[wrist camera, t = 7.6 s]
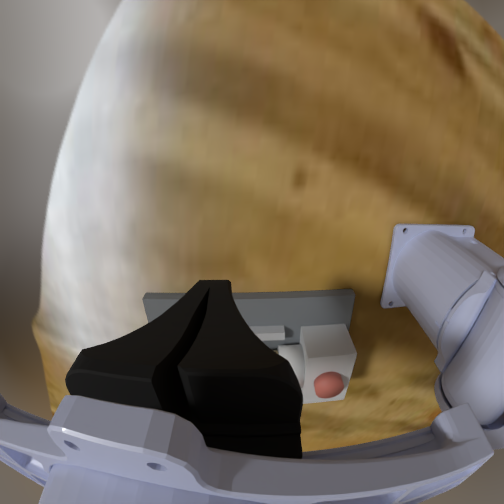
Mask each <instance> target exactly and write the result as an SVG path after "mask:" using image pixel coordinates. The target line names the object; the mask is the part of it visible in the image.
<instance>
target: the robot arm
mask: <svg viewBox="0 0 504 504" xmlns="http://www.w3.org/2000/svg"><path fill="white" fill-rule="evenodd" d="M404 228H406V231H405V232H403V229H404ZM463 230H464V232H463ZM474 232H475V229H474V227H473V226H471V225H439V224H397V225H396V226H395V227H394V230H393V237H392V244H391V250H390V256H389V262H388V268H387V273H386V278H385V283H384V288H383V293H382V298H381V302H380V304H381V306H382V307H383V308H393V307H403V306H407V308H408V309H409V311H410V312H411V313H412V315H413V316H414V317H415V319H416V320H417V322H418V323H419V324H420V326H421V327H422V329H423V330H424V332H425V333H426V334H427V336H428V337H429V339H430V340H431V342H432V343H433V345H434V346H435V348H436V349H437V351H438V355H437V357H436V359H435V361H434V362H435V364H436V366H437V367H438V369H439V370H440V372H441V373H440V374H439V375H438V377H437V379H436V382H435V387H434V390H435V396H436V399H437V402H438V404H439V407H440V409H441V411H442V412H441V413H440V414H439V415H438V416H437V417H436V418H435V419H434V420H433V422H432V424H431V426H429V427H426V428H423V429H420V430H416V431H413V432H409V433H406V434H402V435H398V436H394V437H390V438H386V439H382V440H377V441H373V442H368V443H363V444H358V445H352V446H346V447H340V448H333V449H326V450H318V451H308V452H302V446H301V437H300V434H301V426H300V417H301V411H302V406H303V394H302V390H301V387H300V384H299V381H298V379H297V376H296V374H295V372H294V370H293V368H292V366H291V364H290V363H289V361H288V360H287V359H285V358H284V357H282V356H280V355H279V354H277V353H276V352H274V351H273V350H271V349H270V348H269V347H268V346H267V345H266V344H264V343H263V342H262V341H261V340H260V339H259V338H258V337H257V336H256V335H255V333H254V332H253V331H252V330H251V329H250V327H249V326H248V325H247V323H246V322H245V320H244V319H243V317H242V315H241V314H240V312H239V310H238V308H237V306H236V303H235V301H234V299H233V296H232V290H231V282H230V281H229V280H199V281H198V282H197V283H196V284H195V285H194V286H193V287H192V288H191V289H190V290H189V291H188V292H187V293H186V294H185V295H184V296H183V297H182V298H181V299H180V300H178V301H177V302H176V303H175V304H174V305H172V306H171V307H170V308H169V309H168V310H166V311H165V312H164V313H163V314H161V315H160V316H159V317H157V318H156V319H154V320H153V321H151V322H149V323H148V324H146V325H145V326H143V327H141V328H139V329H137V330H135V331H133V332H131V333H129V334H127V335H125V336H123V337H120V338H118V339H115V340H113V341H110V342H107V343H104V344H101V345H97V346H94V347H90V348H87V349H82V351H81V352H80V354H79V355H78V357H77V358H76V360H75V362H74V363H73V365H72V367H71V368H70V370H69V371H68V373H67V375H66V379H65V381H66V386H67V389H68V391H69V393H70V395H65V397H64V398H63V400H62V401H61V403H60V405H59V407H58V408H57V410H56V412H55V414H54V416H53V418H52V420H51V421H49V420H46V419H43V418H41V417H38V416H35V415H33V414H31V413H28V412H26V411H23V410H21V409H19V408H16V407H14V406H12V405H10V404H8V403H7V402H6V400H5V399H4V397H3V396H2V395H1V393H0V460H1V461H2V462H4V463H5V464H7V465H8V466H10V467H12V468H13V469H15V470H16V471H18V472H19V473H21V474H23V475H25V476H26V477H27V478H29V479H31V480H33V481H34V482H36V483H38V484H39V485H41V486H43V487H44V490H43V492H42V495H41V498H40V501H39V504H418V503H420V502H423V501H425V500H427V499H430V498H432V497H434V496H437V495H439V494H441V493H443V492H445V491H448V490H450V489H452V488H454V487H456V486H458V485H459V484H460V483H462V482H463V481H464V480H465V479H466V478H468V477H469V476H470V475H471V474H472V473H474V472H475V471H476V470H477V469H478V468H480V467H481V466H482V465H483V464H484V463H485V462H486V461H487V460H488V459H489V458H490V457H491V456H493V454H494V451H493V449H501V448H504V258H503V257H501V256H500V255H498V254H497V253H496V252H494V251H493V250H491V249H490V248H488V247H487V246H485V245H484V244H482V243H481V242H479V241H478V240H476V239H475V238H473V237H474ZM391 301H392V302H391ZM389 302H391V303H390V304H389Z"/></svg>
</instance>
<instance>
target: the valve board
mask: <svg viewBox="0 0 504 504" xmlns="http://www.w3.org/2000/svg"><path fill="white" fill-rule="evenodd" d="M185 294H186V293H146V294H145V295H144V297H143V303H144V307H145V311H146V315H147V319H148V323H149V322H151V321H153V320H154V319H156V318H157V317H159V316H160V315H161V314H163V313H164V312H165V311H166V310H168V309H169V308H170V307H171V306H172V305H174V304H175V303H176V302H177V301H178V300H180V299H181V298H182V297H183V296H184V295H185ZM232 296H233V299H234V301H235V303H236V306H237V308H238V310H239V312H240V314H241V315H242V317H243V319H244V320H245V322H246V323H247V325H248V326H249V327H250V329H251V330H252V331H253V332H254V333H255V335H256V336H257V337H258V338H259V339H260V340H261V341H262V342H263V343H264V344H266V345H267V346H268V347H269V348H270V349H271V350H277V352H278V354H279V355H280V356H282V357H284V358H285V359H287V360H288V361H289V363H290V364H291V366H292V368H293V370H294V372H295V374H296V376H297V379H298V381H299V384H300V387H301V390H302V394H303V404H304V403H315V402H325V401H334V400H342V399H344V397H345V394H346V391H347V387H348V384H349V381H350V377H351V374H352V371H353V367H354V363H355V360H356V356H357V352H356V349H355V347H354V344H353V342H352V340H351V337H350V335H349V332H348V331H349V326H350V321H351V316H352V311H353V305H354V300H355V293H354V291H353V290H352V289H339V290H318V291H293V292H258V293H232Z"/></svg>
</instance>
